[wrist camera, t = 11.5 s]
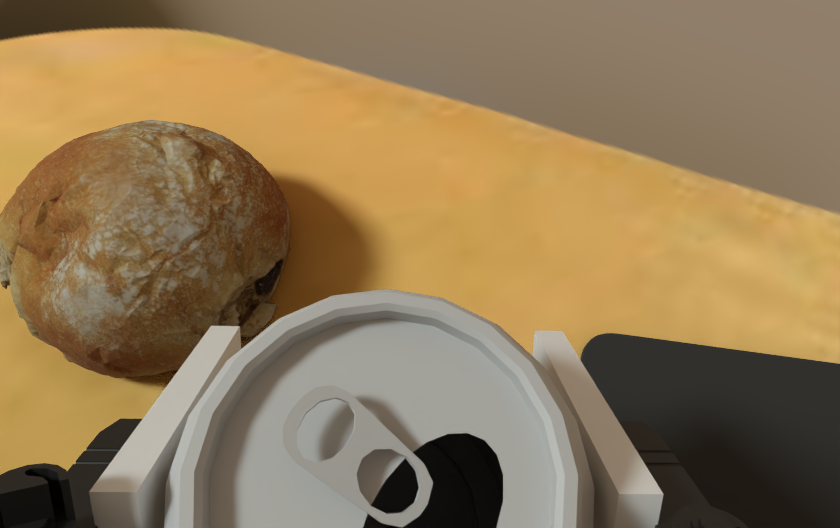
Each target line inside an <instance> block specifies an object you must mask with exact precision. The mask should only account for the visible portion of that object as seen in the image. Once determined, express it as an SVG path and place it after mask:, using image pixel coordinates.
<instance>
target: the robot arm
mask: <svg viewBox="0 0 840 528" xmlns="http://www.w3.org/2000/svg"><path fill="white" fill-rule="evenodd" d="M239 350H241V337H240V326H211V327H210V328H209V329H208V331H207V332H206V333H205V335H204V336H203V338H202V339H201V340H200V342H199V343H198V344H197V346H196V347H195V348H194V350H193V351H192V352H191V354H190V355H189V357H188V358H187V359H186V361H185V362H184V363H183V365H182V366H181V367H180V369H179V370H178V372H177V373H176V374H175V376H174V377H173V378H172V380H171V381H170V382H169V384H168V385H167V386H166V388H165V389H164V391H163V392H162V393H161V395H160V396H159V397H158V399H157V400H156V401H155V403H154V404H153V406H152V407H151V408H150V410H149V411H148V412H147V414H146V415H145V416H144V418H143V419H119V420H118V421H116V422H115V423H113V424H112V425H110V426H109V427H107V428H106V429H104V430H102V431H101V432H100V433H99V434H98V435H97V436H96V437H95V439H94V440H93V441H92V442H91V443H90V445H89V446H88V447H87V450H86V451H84V452H83V453H82V454H81V456H80V457H79V458H78V459H77V460H76V464H73V465H72V466H71V468H70V469H69V470H68V471H66V470H65V469H63V468H62V467H60V466H58V465H53V464H45V463H43V464H34V465H26V466H23V467H20V468H16V469H13V470H10V471H7V472H5V473H3V474H1V475H0V528H164V518H165V489H166V481H167V478H168V475H169V472H170V469H171V466H172V463H173V460H174V457H175V454H176V451H177V448H178V445H179V443H180V440H181V437H182V434H183V431H184V428H185V425H186V422H187V419H188V416H189V414H190V413H191V412H192V410H193V409H194V407H195V406H196V404H197V403H198V402H199V400H200V399H201V397H202V396H203V394H204V393H205V391H206V390H207V389H208V387H209V386H210V384H211V383H212V381H213V380H214V379H215V377H216V376H217V374H218V373H219V371H220V370H221V368H222V367H223V366H224V364H225V363H226V361H227V360H228V359H230V358H231V357H232V356H233V355H235V354H236V353H237V352H238V351H239ZM532 356H533V357H534V358H535V359H536V360H537V361H538V362H539V363H540V364H542V365H543V366H544V368H545V370H546V371H547V373H548V375H549V376H550V378H551V380H552V381H553V383H554V385H555V386H556V388H557V389H558V391H559V393H560V394H561V396H562V398H563V399H564V401H565V403H566V404H567V406H568V408H569V409H570V411H571V412H572V414H573V416H574V417H575V419H576V421H577V424H578V428H579V431H580V435H581V439H582V443H583V446H584V450H585V454H586V458H587V461H588V465H589V469H590V472H591V476H592V480H593V484H594V524H593V528H748V527H747V526H746V525H745V524H744V523H743V522H742V521H741V520H739V519H738V518H736V517H734V516H733V515H731V514H730V513H728V512H725V511H723V510H720V509H717V508H715V507H711V506H710V504H709V503H708V502H707V500H706V499H705V497H704V496H703V495H702V493H701V492H700V490H699V489H698V488H697V486H696V485H695V483H694V482H693V481H692V479H691V478H690V476H689V475H688V473H687V472H686V471H685V469H684V468H683V466H680V462H679V461H678V459H677V458H676V457H675V455H674V454H673V453H671V450H670V448H669V447H668V445H667V444H666V443H665V441H664V440H663V438H662V437H661V436H660V435H659V434H658V433H657V432H655V431H654V430H652V429H651V428H650V427H648V426H647V425H646V424H644V423H643V422H618V420H617V418H616V417H615V415H614V414H613V412H612V410H611V409H610V407H609V405H608V404H607V402H606V401H605V399H604V397H603V396H602V394H601V393H600V391H599V389H598V388H597V386H596V384H595V383H594V381H593V380H592V378H591V376H590V375H589V373H588V372H587V370H586V368H585V367H584V365H583V364H582V362H581V360H580V359H579V357H578V355H577V354H576V352H575V351H574V349H573V347H572V346H571V344H570V343H569V341H568V339H567V338H566V336H565V334H564V333H563V331H535V335H534V345H533V355H532Z"/></svg>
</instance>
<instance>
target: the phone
mask: <svg viewBox="0 0 840 528" xmlns="http://www.w3.org/2000/svg"><path fill="white" fill-rule="evenodd" d="M581 362H582V364H583V365H584V367H585V368H586V370H587V372H588V373H589V375H590V376H591V378H592V380H593V381H594V383H595V384H596V386H597V388H598V389H599V391H600V393H601V394H602V396H603V397H604V399H605V401H606V402H607V404H608V405H609V407H610V409H611V410H612V412H613V414H614V415H615V417H616V418H617V420H618V422H643V423H644V424H646V425H647V426H648V427H650V428H651V429H652V430H654V431H655V432H657V433H658V434H659V435H660V436H661V437H662V438H663V440H664V441H665V443H666V444H667V445H668V447H669V448H670V450H671V453H673V454H674V455H675V457H676V458H677V459H678V461H679V462H680V466H683V468H684V469H685V471H686V472H687V473H688V475H689V476H690V478H691V479H692V481H693V482H694V483H695V485H696V486H697V488H698V489H699V490H700V492H701V493H702V495H703V496H704V497H705V499H706V500H707V502H708V503H709V504H710V506H711V507H715V508H717V509H720V510H723V511H725V512H728V513H730V514H731V515H733V516H734V517H736V518H738V519H739V520H741V521H742V522H743V523H744V524H745V525H746V526H747V527H748V528H840V364H836V363H828V362H821V361H814V360H806V359H799V358H792V357H784V356H777V355H770V354H762V353H755V352H748V351H740V350H733V349H726V348H718V347H711V346H704V345H696V344H689V343H682V342H674V341H667V340H660V339H652V338H645V337H638V336H630V335H623V334H613V333H608V334H601V335H598V336H596V337H594V338H592V339H591V340H590V341H589V342H588V343H587V345H586V346H585V347H584V349H583V352H582V355H581Z"/></svg>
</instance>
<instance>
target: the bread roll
mask: <svg viewBox="0 0 840 528" xmlns="http://www.w3.org/2000/svg"><path fill="white" fill-rule="evenodd" d="M289 238H290V214H289V210H288V206H287V204H286V201H285V199H284V196H283V194H282V192H281V190H280V189H279V186H278V184H277V183H276V181H275V180H274V178H273V177H272V176H271V175H270V173H269V172H268V171H267V170H266V169H265V168H264V166H263V165H262V164H261V163H259V162H258V161H257V160H256V159H255V158H254V157H253V156H252V155H251V154H250V153H249V152H248V151H246V150H244V149H243V148H241V147H240V146H238V145H237V144H235V143H234V142H233V141H231V140H230V139H228V138H226V137H224V136H222V135H219V134H217V133H214V132H212V131H209V130H206V129H204V128H200V127H195V126H190V125H186V124H183V123H172V122H166V121H155V120H148V121H140V122H135V123H129V124H123V125H119V126H116V127H113V128H110V129H106V130H103V131H99V132H94V133H90V134H87V135H84V136H82V137H79V138H77V139H73V140H72V141H70V142H68V143H66V144H64V145H63V146H61V147H60V148H59V149H57V150H56V151H54V152H53V153H51V154H50V155H48V156H46V157H45V158H44V159H43V160H42V161H41V162H39V163H38V164H37V166H36V167H35V168H34V169H33V170H32V171H30V173H29V174H28V176H27V177H26V178H25V180H24V181H23V182H22V183H21V184H20V185H19V186H18V187H17V189H16V192H15V194H14V195H13V196H12V198H11V199H10V200H9V201H8V203H7V204H6V206H5V207H4V209H3V212H2V213H1V214H0V282H1V284H2V286H3V287H4V288H5V289H7V285H10V288H11V293H12V297H13V300H14V303H15V306H16V308H17V311H18V314H19V317H21V318H23V319H24V320H25V321H26V323H27V326H28V328H29V330H30V332H31V334H32V335H33V336H35V337H37V338H38V339H40V340H42V341H44V342H45V343H47V344H49V345H52V346H54V347H56V348H58V349H59V350H60V351H61V352H63V354H64V356H65V358H66V359H67V360H68V361H69V362H73V363H75V364H77V365H79V366H81V367H83V368H85V369H88V370H91V371H94V372H97V373H99V374H102V375H108V376H111V377H114V378H122V377H137V376H144V375H148V376H155V375H156V374H159V373H163V372H167V371H171V370H179V369H180V367H181V366H182V365H183V363H184V362H185V361H186V359H187V358H188V357H189V355H190V354H191V352H192V351H193V350H194V348H195V347H196V346H197V344H198V343H199V342H200V340H201V339H202V338H203V336H204V335H205V333H206V332H207V331H208V329H209V328H210V327H211V326H240V337H242V336H243V337H247V338H248V337H254V336H255V335H257V334H258V332H259V331H260V330H261V329H262V328H263V327H264V326H265V325H266V324H267V323H268V322H269V321H270V320H271V318H272V316H273V313H274V311H275V308H276V306H277V305H276V304H274V303H271V302H270V298H271V297H272V295H273V293H274V292H275V290H276V287H277V284H278V282H279V279H280V276H281V273H282V271H283V268H284V265H285V261H286V257H287V254H288V252H289V250H290V240H289Z"/></svg>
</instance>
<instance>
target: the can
mask: <svg viewBox="0 0 840 528" xmlns="http://www.w3.org/2000/svg"><path fill="white" fill-rule="evenodd" d="M593 524H594V484H593V480H592V476H591V472H590V469H589V465H588V461H587V458H586V454H585V450H584V446H583V443H582V439H581V435H580V431H579V428H578V424H577V421H576V419H575V417H574V416H573V414H572V412H571V411H570V409H569V408H568V406H567V404H566V403H565V401H564V399H563V398H562V396H561V394H560V393H559V391H558V389H557V388H556V386H555V385H554V383H553V381H552V380H551V378H550V376H549V375H548V373H547V371H546V370H545V368H544V366H543V365H542V364H540V363H539V362H538V361H537V360H536V359H535V358H534V357H533V356H532V355H531V354H529V353H528V352H527V351H526V350H525V349H524V348H523V347H522V346H521V345H520V344H519V343H517V342H516V341H515V340H514V339H513V338H512V337H511V336H510V335H509V334H508V333H506V332H505V331H504V330H503V329H502V328H501V327H500V326H499V325H497V324H495V323H493V322H491V321H489V320H487V319H485V318H483V317H481V316H479V315H477V314H474V313H472V312H470V311H468V310H466V309H464V308H462V307H460V306H458V305H456V304H454V303H452V302H450V301H448V300H446V299H443V298H440V297H434V296H428V295H422V294H416V293H410V292H404V291H398V290H392V289H382V290H374V291H366V292H358V293H349V294H341V295H333V296H330V297H328V298H326V299H323V300H321V301H319V302H316V303H314V304H312V305H309V306H307V307H304V308H302V309H300V310H297V311H295V312H293V313H290V314H288V315H286V316H283V317H281V318H279V319H278V320H277V321H275V322H274V323H273V324H271V325H270V326H269V327H268V328H266V329H265V330H264V331H263V332H261V333H260V334H259V335H258V336H257V337H255V338H254V339H253V340H252V341H250V342H249V343H248V344H247V345H246V346H244V347H243V348H242V349H241V350H239V351H238V352H237V353H236V354H235V355H233V356H232V357H231V358H230V359H228V360H227V361H226V363H225V364H224V366H223V367H222V368H221V370H220V371H219V373H218V374H217V376H216V377H215V379H214V380H213V381H212V383H211V384H210V386H209V387H208V389H207V390H206V391H205V393H204V394H203V396H202V397H201V399H200V400H199V402H198V403H197V404H196V406H195V407H194V409H193V410H192V412H191V413H190V414H189V416H188V419H187V422H186V425H185V428H184V431H183V434H182V437H181V440H180V443H179V445H178V448H177V451H176V454H175V457H174V460H173V463H172V466H171V469H170V472H169V475H168V478H167V481H166V489H165V518H164V528H593Z"/></svg>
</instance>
